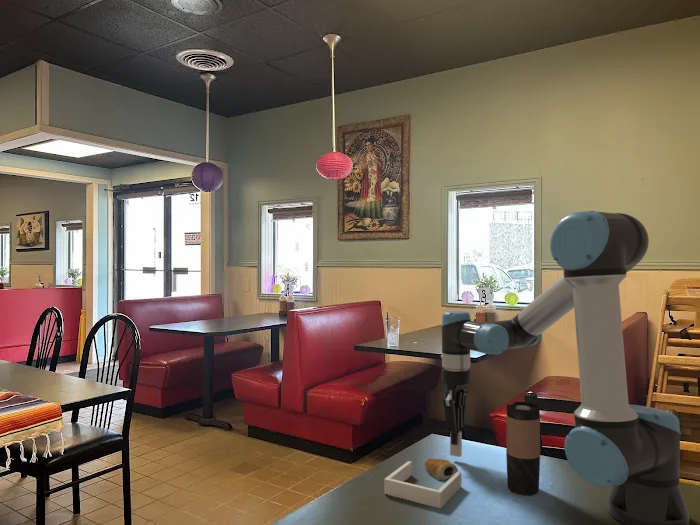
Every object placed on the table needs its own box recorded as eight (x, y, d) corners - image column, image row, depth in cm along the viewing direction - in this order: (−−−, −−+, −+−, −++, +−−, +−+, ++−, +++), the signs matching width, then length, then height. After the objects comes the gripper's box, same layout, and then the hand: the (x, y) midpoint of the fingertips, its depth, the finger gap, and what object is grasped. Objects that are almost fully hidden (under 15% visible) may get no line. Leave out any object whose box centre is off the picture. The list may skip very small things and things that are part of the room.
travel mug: (542, 497, 124) (542, 411, 124) (507, 494, 126) (507, 409, 125) (537, 483, 132) (537, 402, 131) (505, 481, 133) (505, 400, 133)
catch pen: (461, 486, 130) (461, 472, 130) (440, 508, 119) (440, 492, 119) (408, 474, 137) (408, 461, 137) (384, 493, 126) (384, 479, 126)
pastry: (418, 468, 142) (418, 454, 142) (439, 464, 145) (439, 450, 145) (439, 482, 133) (439, 466, 133) (461, 477, 136) (461, 462, 136)
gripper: (451, 362, 154) (451, 445, 154) (433, 371, 143) (433, 460, 143) (477, 365, 150) (477, 450, 150) (460, 374, 139) (460, 466, 139)
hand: (455, 455), depth 146 cm, fingers closed
